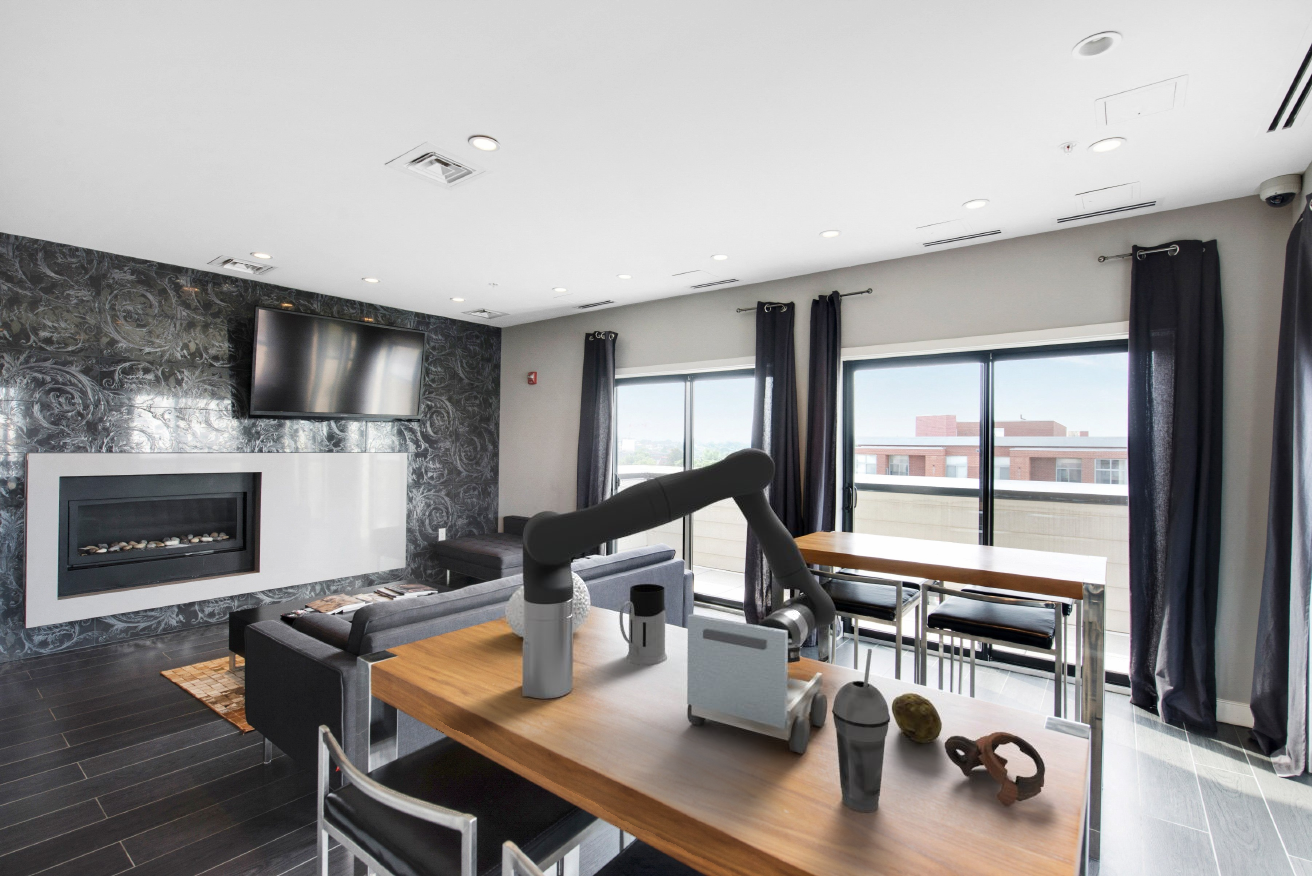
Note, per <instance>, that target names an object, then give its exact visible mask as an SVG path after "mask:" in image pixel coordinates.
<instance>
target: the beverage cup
mask: <svg viewBox="0 0 1312 876" xmlns="http://www.w3.org/2000/svg"><path fill="white" fill-rule="evenodd" d="M872 652H873V649H871V648H867V655H866V656H867V657H866V663H865V670H864V679H863V680H853V681H850V682H848V683H846V684H844V685H843V686H841V687H840V689H839V690H838V691H837V692H836V695H835V698H834V701H833V706H832V710H831V712H832V714H833V715H832V716H833V723H834V728H835V731H836V733H835V734H836V744H837V745H836V746H837V756H838V770H839V771H838V772H839V784H840V788H841V789H840V790H841V798H842V799H841V800H842V802H843V804H844V805H845V806H846V807H848V808H849V809H851V810H854V811H856V812H861V813H871V812H874V811H876V810H878V808H879V801H880V800H879V799H880V797H881V786H882V776H883V767H884V765H883V764H884V757H885V756H884V755H885V746H886V745H885V744H886V737H887V736H888V730H889V724H890V722H891V716H890V712H889V711H890V710H889V706H888V703H887V700H886V698H885V697H884V695H883V694H882V692H881V691H880V690H879V689H878V688H877V687H875V686H874V685H873V684H871V683H869V679H870V670H871V669H870V668H871V661H872Z"/></svg>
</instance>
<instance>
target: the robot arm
mask: <svg viewBox="0 0 1312 876" xmlns="http://www.w3.org/2000/svg"><path fill="white" fill-rule="evenodd" d="M775 473H776V464H775V462H774V460H773V458H772V457H771V456H770V455H769V453H767V452H766V451H764V450H762V449H759V448H754V447H751V448H750V447H748V448H743V449H740V450H737V451H735V452H732V453H730V454H728V455H727V456H726V457H725V458H723V459H721V460H719V461H717V462H715V463H712V464H709V465H706V466H702V467H699V468H693V469H688V470H682V471H678V472H673V473H669V474H665V475H661V476H658V477H653V478H651V479H647V480H644V481H642V482H638V483H635V484H633V485H631V486H628V487H626V488H624V489H621V490H620V491H618V492H616V493H615V494H613V495H611V496H610V497H608V498H607V499H605V500H603V501H602V502H599V503H597V504H595V505H592V506H589V507H586V508H582V509H578V510H575V511H570V512H566V513H558V512H556V511H552V510H545V511H541V512H538V513H536V514H534V515H532V517H530V518H529V519H528V521H527V522H526V524H525V526H524V528H523V532H522V533H523V534H522V583H523V585H522V586H524V638H523V641H522V686H521V687H522V690H521V691H522V692H521V693H522V697H528V698H529V697H531V698H533V699H543V700H546V699H547V700H548V699H555V698H559V697H563V696H565V695H568V694H569V693H571V692H572V690H573V687H574V633H573V579H572V572H573V571H572V558H574V557H577V556H579V555H581V554H583V553H585V552H587V551H590V550H592V549H593V548H596V547H598V546H600V545H601V546H602V545H603V544H605V543H608V542H612V541H614V540H619V539H623V538H626V537H629V536H633V535H636V534H639V533H642V532H646V531H649V530H652V529H655V528H659V527H660V526H661V527H662V526H663V525H667V524H669V523H672V522H674V521H677V520H679V519H682V518H684V517H687V516H689V515H692V514H694V513H696V512H698V511H700V510H703V509H705V508H706V507H708V506H710V505H712V504H715V503H717V502H720V501H723V500H724V501H725V500H727V499H731V498H732V499H733V501H734V503H735V505H736V506H737V507H738V508H739V510H740V511H741V513H742V515H743V517H744V519H745V520H746V522H747V523H748V526H749V528H750V529H751V531H752V533H753V534H754V535H753V536H755V538H756V540H757V542H758V544H759V547H760V549H761V551H762V553H763V555H764V557H765V559H766V562H767V564H768V566H769V568H770V571H771V573H772V575H773V577H774V579H775V582H776V583H777V585H778V587H779V588H780V589H782V590H797V591H800V592H801V593H802V594H801V595H798V596H793V597H791V598H789V599H786V600H785V601H783V603H782V604H781V608H780V609H778V610H776V611H774V612H772V613H771V614H769V615H768V616H765V618H763V619H762V620H761V621H760V622H758V624H757V625H758V626H764V627H770V628H775V629H781V630H787V631H788V664H791V663H798V662H800V661H801V646H802V645H803V643H804V642H805V640H807V638H809V637H810V636H811V635H812V633H813V631H814V630H815V629H819V628H820V629H821V628H824V627H827V626H830V625H832V624H833V623H834V621H835V619H836V613H837V610H836V606H835V603H834V602H833V600H832V598H831V596H830V595H829V593H827V591H826V590H825V589H824V588H823V587H822V586H821V584H820V583H819V582H818V580H817V579H816V578H815V577H814V575H813V574H812V572H811V571H810V570H809V567H808V565H807V564H806V561H805V559H804V556H803V555H802V552H801V551H800V548H799V546H798V544H797V542H796V541H795V539H794V537H793V535H792V534H791V533H790V532H789V530H788V528H786V526H785V525H784V524H783V523H782V521H781V520H780V519H779V517H778V516H777V514H776V513H775V512H774V510H773V508H772V507H771V505H770V503H769V501H768V499H767V497H766V494H765V489H766V488H768V486H769V485H771V483H772V481H773V479H774V478H775ZM571 571H572V572H571Z"/></svg>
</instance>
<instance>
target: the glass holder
mask: <svg viewBox="0 0 1312 876" xmlns="http://www.w3.org/2000/svg"><path fill="white" fill-rule="evenodd" d="M665 592H666V591H665V586H663V585H659V584H656V583H655V584H653V583H641V584H635V585H631V586H630V587H629V601H628V600H627V601H624V603H622V605H621V606H620V610H619V615H618V616H619V617H618V619H619V628H620V633H621V634H622V638H623V639H624V641H626V643H627V644H628V653H627V655H626V660H627V661H629V662H630V663H632V664H637V665H641V666H642V665H643V666H645V665H646V666H650V664H653V665H658V664H662V663H664V662H665V661H666V660H667V659H668V656H667V653H666V604H665V597H666V595H665ZM627 605H629V610H628V636H627V634H626V631H625V628H624V620H623V619H624V610H625V608H626V606H627ZM663 661H664V662H663ZM661 662H662V663H661ZM657 663H658V664H657Z"/></svg>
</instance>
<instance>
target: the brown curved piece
mask: <svg viewBox="0 0 1312 876" xmlns="http://www.w3.org/2000/svg"><path fill="white" fill-rule="evenodd" d="M1010 743H1012V744H1014V745H1015V746H1017V748H1019V751H1020V752H1021V753H1023V754H1024V755H1026V756H1029V758H1031V759H1032V761H1033V762H1034V765H1035V767H1036V773H1035V774H1033V775H1032V776H1021V775H1016V776H1015V781H1013V780H1012V779H1009V778H1008V777H1007V775H1008V771H1009V770H1008V769H1007V768H1006V765H1007V764H1008V763H1009V760H1008V759H1007V758H1005V757H1003V756H1001V755H1000V754H998V753H996V752H995V751H996V750H997V749H998V748H999V746H1005V745H1008V744H1010ZM943 748H944V749H945V752H946V755H947V757H948V758H949V760H951V762H952V763H953V764H954V765H956V766H958V768H959V769H960V770H961V772H962V774H963V775H964V776H965V777H969V775H970V773H971V771H972V770H973V769H975V768H977V767H981V766H983V767H984V768H985V769H986V771H988V772H989V773H990V775H991V776H992V777H993V778H994V779H995V781H997V782H998V783H999V784H1000V785H1001V788H1000V792H998V794H997V796H996V798H997V801H998V802H1001V804H1004V805H1006V806H1008V807H1009V806H1011V805H1013V804H1015V802H1016V801H1018V802H1022V801H1026V800H1028V799H1031V798H1034V797H1036V796H1038V795H1039V794H1040V793H1041V792H1042V788H1043V787H1044V786H1045V785H1044V784H1045V774H1046V773H1045V772H1046V767H1045V763H1044V761H1043V758H1042V756H1041V754H1040V753H1039V752H1038V751H1037V750H1036V749H1035V748H1034V746H1033V745H1032V744H1030V743H1029V742H1028V741H1027V740H1025V739H1023V738H1021V737H1019V736H1017V735H1014V734H1012V733H1009V732H1006V731H1005V732H1004V731H996V732H992V733H990V734H988V735H985V736H980V737H979V738H977V739H975V740H972V739H969V738H967V737H965V736H962V735H953V736H950V737H948V738H947V739H946V741H945V742H944V747H943ZM958 751H960V752H962V753H963V754H960V753H959V752H958Z"/></svg>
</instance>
